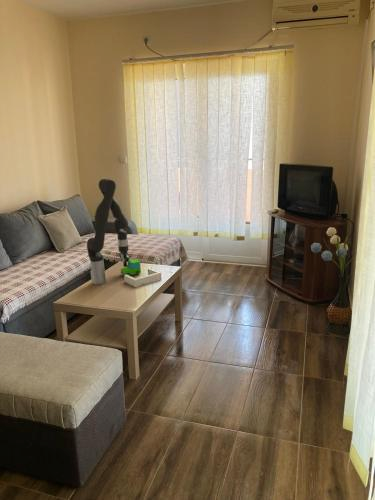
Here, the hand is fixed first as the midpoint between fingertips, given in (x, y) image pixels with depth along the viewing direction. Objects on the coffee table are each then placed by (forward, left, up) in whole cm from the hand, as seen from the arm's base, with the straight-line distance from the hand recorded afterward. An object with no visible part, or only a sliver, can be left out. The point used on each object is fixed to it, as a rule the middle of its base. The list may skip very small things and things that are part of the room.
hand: (125, 266), depth 305 cm
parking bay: (0, -25, -5) cm, 25 cm away
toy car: (+1, -7, -5) cm, 8 cm away
